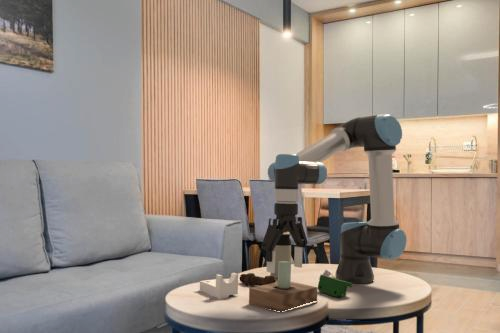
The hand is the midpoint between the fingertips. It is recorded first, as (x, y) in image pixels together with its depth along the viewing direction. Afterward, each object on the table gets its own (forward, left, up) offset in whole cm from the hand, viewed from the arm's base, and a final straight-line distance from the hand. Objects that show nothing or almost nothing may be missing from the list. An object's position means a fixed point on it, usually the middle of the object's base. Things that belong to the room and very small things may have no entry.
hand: (284, 269), depth 152 cm
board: (0, 0, -11) cm, 11 cm away
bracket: (+7, -23, -11) cm, 27 cm away
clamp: (-24, +3, -11) cm, 26 cm away
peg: (0, 0, -10) cm, 10 cm away
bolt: (-11, -23, -11) cm, 28 cm away
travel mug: (-31, -28, -11) cm, 43 cm away
